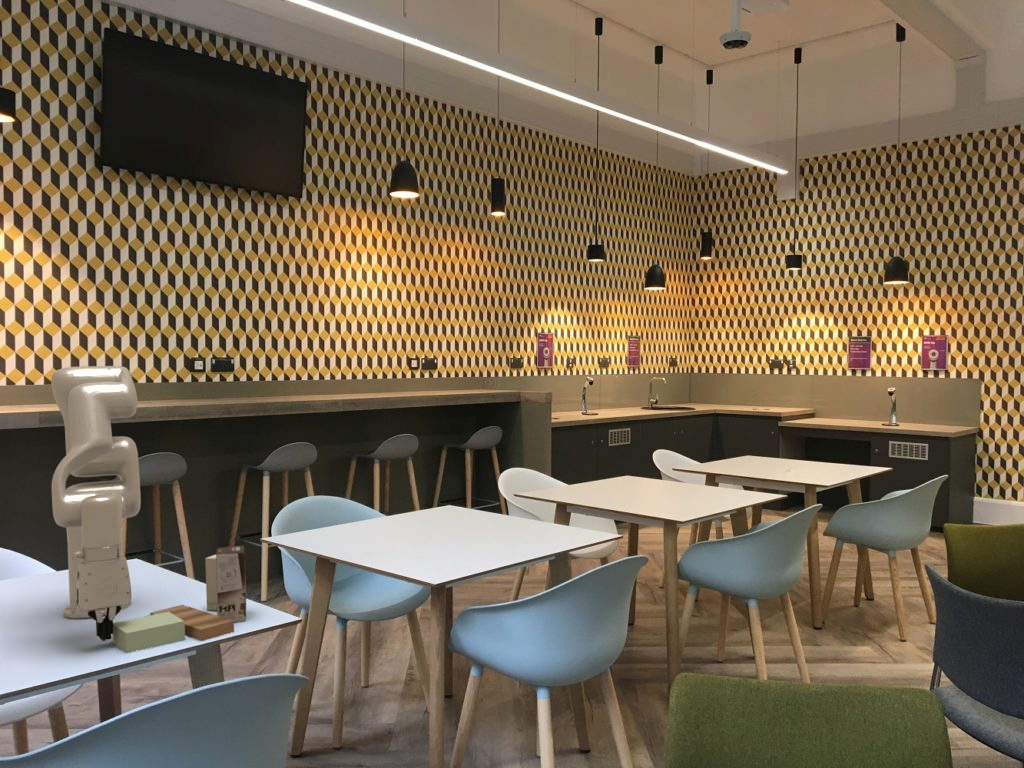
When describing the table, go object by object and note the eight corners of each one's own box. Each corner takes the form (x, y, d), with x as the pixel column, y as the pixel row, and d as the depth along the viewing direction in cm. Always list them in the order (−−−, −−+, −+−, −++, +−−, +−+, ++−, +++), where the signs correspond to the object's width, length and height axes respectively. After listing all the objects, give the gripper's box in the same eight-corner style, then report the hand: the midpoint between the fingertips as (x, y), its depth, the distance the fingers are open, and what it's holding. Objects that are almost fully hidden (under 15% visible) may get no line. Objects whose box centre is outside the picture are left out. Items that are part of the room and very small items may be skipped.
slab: (112, 643, 189) (112, 622, 189) (169, 631, 197) (168, 611, 196) (127, 654, 181) (126, 633, 181) (185, 641, 189) (184, 621, 189)
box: (222, 611, 210) (220, 558, 210) (206, 610, 211) (204, 558, 211) (233, 605, 216) (232, 553, 215) (217, 604, 216) (215, 553, 216)
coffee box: (246, 621, 202) (244, 552, 201) (217, 624, 200) (215, 554, 199) (247, 610, 210) (244, 544, 210) (219, 613, 209) (216, 546, 208)
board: (150, 625, 202) (150, 612, 202) (182, 617, 208) (182, 604, 208) (201, 643, 188) (200, 629, 188) (234, 633, 194) (233, 620, 194)
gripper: (68, 562, 178) (71, 651, 178) (144, 550, 187) (147, 634, 188) (59, 556, 183) (62, 642, 184) (132, 545, 193) (135, 627, 193)
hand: (105, 638), depth 186 cm, fingers closed
